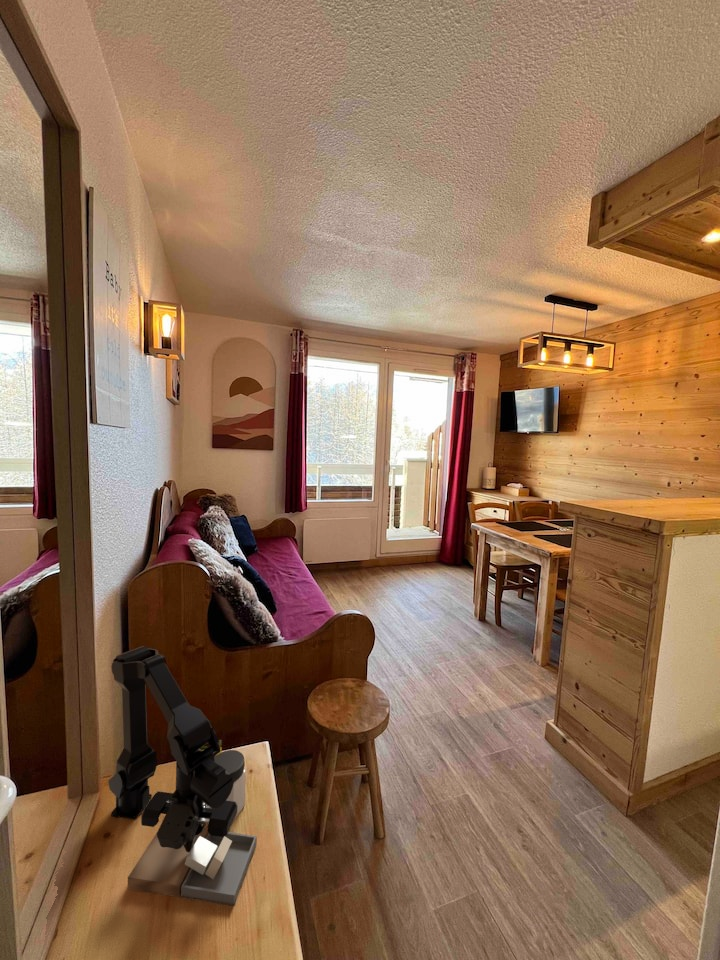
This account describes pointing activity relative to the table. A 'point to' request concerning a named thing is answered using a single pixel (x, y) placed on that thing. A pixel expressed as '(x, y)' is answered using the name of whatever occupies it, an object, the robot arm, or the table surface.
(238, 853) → the tray
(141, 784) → the robot arm
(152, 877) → the brown board
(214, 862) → the tile
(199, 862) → the tile
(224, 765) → the jar
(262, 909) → the table surface
